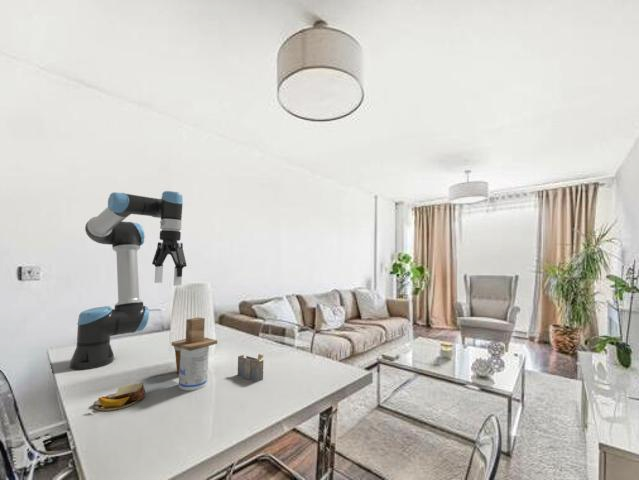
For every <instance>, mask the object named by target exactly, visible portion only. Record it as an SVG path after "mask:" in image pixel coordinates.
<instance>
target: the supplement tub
mask: <svg viewBox="0 0 639 480" xmlns="http://www.w3.org/2000/svg"><path fill="white" fill-rule="evenodd" d="M209 347H210V346H207V347H203V348H199V349H196V350H192V351H189V350H185V349H182V348H181V351H180V368H179V374H178V388H179V389H180V390H181V391H197V390H200V389H203V388H205V387H206V386H207V384H208V373H209V372H208V369H209V352H210V351H209V350H210V348H209Z"/></svg>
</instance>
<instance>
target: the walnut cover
mask: <svg viewBox="0 0 639 480" xmlns="http://www.w3.org/2000/svg"><path fill="white" fill-rule="evenodd" d="M185 322H186V324H185V338H184V339H180V340H176V341H175V340H174V341H172V342H171V346H172V347H174V346H175V347H178V348H182V349H185V350H189V351H192V350H196V349H199V348H203V347H207V346H209V347H210V346H214V345H218V340H217V339H214V338H208V337H205V317H200V316H198V317H192V318H187V319H186V321H185Z"/></svg>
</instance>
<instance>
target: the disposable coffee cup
mask: <svg viewBox="0 0 639 480" xmlns="http://www.w3.org/2000/svg"><path fill="white" fill-rule="evenodd" d="M173 348H174V353H175V364H176V373H177V375H179V368H180V351H181V348H178V347H175V346H173Z"/></svg>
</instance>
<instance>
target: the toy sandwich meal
mask: <svg viewBox="0 0 639 480" xmlns="http://www.w3.org/2000/svg"><path fill="white" fill-rule="evenodd" d="M144 397H145V389H144V385H143V383H142V381H139V382H136V384H135V383H133V384H129V385H128V384H127V385H124V386H121V387H119V388H118V390H117V391H116V392H115V393H110V394H107V395H105V396H99V398H98V399H97V400H95V401H94V402H93V407H94V409H96V410H98V411H101V412H102V411H104V412H107V411H108V412H109V411H116V410H117V411H119V410H121V409H125V408H127V407H130V406H132V405H134V404H136V403H138V402H139V401H140V400H142V399H143V398H144Z"/></svg>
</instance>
